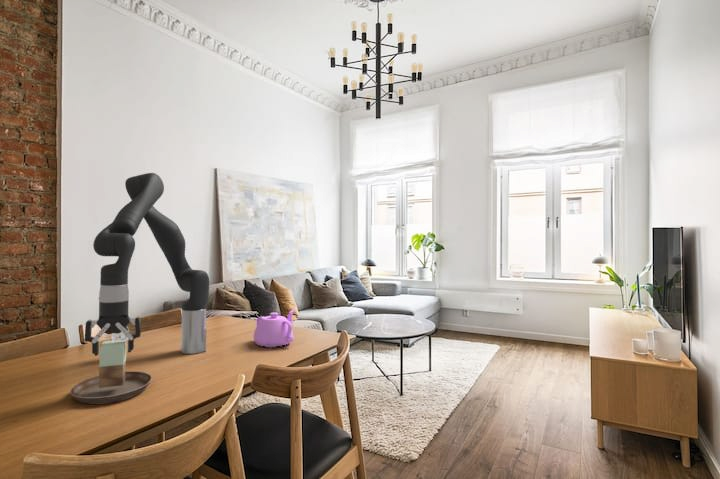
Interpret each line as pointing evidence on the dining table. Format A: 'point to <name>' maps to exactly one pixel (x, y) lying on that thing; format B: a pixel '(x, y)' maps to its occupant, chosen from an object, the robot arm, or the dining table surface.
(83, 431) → the dining table surface
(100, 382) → the walnut block
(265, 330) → the teapot
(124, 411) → the dining table surface
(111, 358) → the green block
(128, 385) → the plant saucer
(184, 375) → the dining table surface
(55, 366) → the dining table surface
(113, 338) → the wineglass
